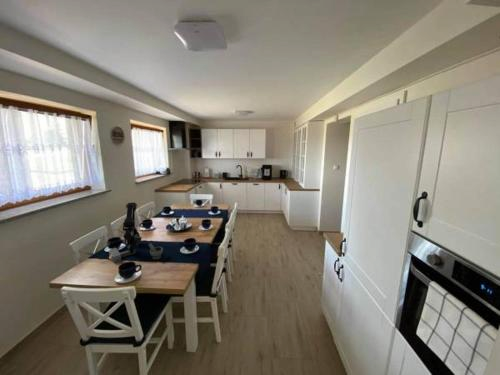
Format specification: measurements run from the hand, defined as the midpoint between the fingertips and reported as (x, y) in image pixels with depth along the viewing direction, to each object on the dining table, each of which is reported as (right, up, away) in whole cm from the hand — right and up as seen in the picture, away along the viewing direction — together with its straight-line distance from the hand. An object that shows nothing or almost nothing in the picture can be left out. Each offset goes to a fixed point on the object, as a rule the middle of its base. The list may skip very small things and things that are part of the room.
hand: (131, 252), depth 177 cm
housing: (-9, -3, -8) cm, 12 cm away
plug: (-5, -2, -4) cm, 7 cm away
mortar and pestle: (+23, -3, -5) cm, 24 cm away
